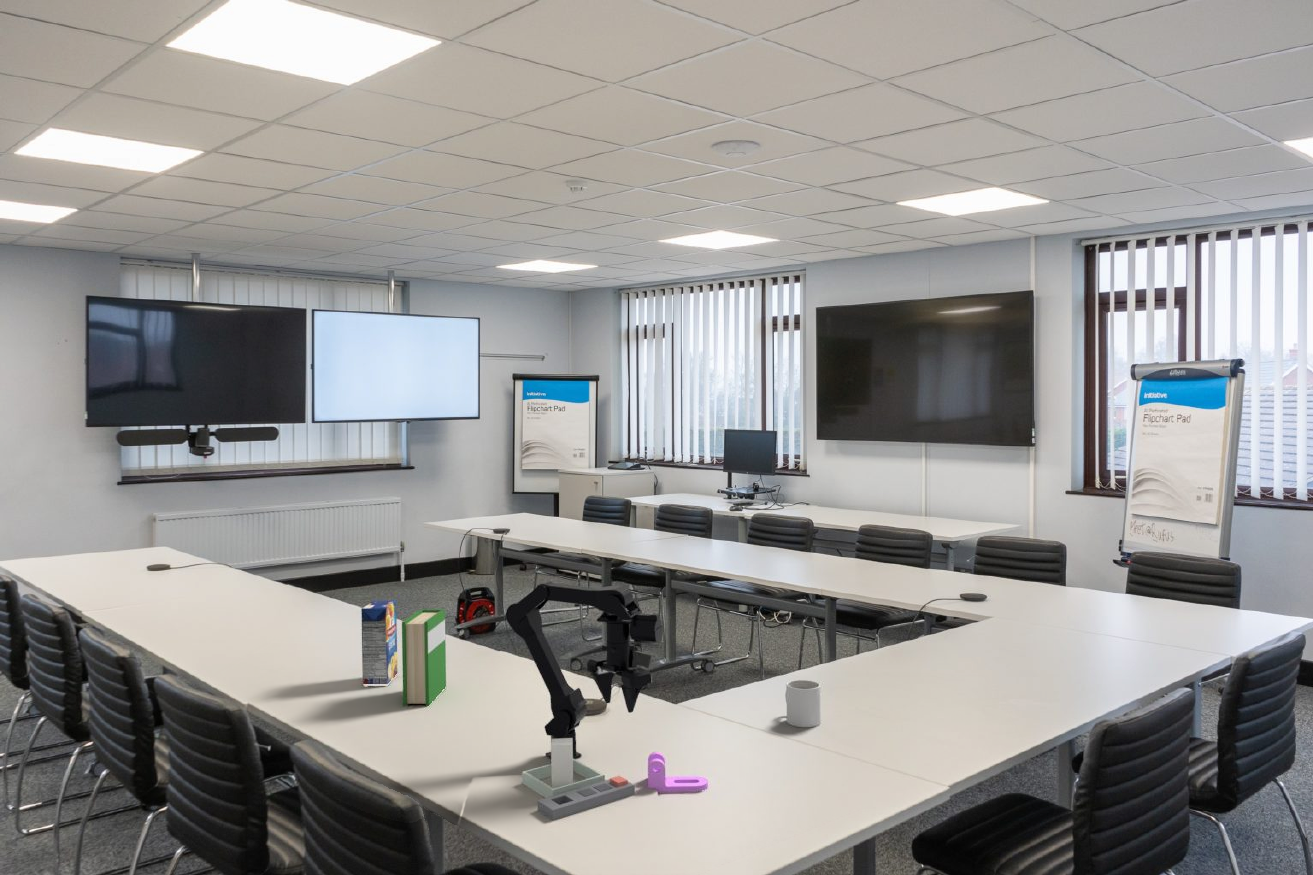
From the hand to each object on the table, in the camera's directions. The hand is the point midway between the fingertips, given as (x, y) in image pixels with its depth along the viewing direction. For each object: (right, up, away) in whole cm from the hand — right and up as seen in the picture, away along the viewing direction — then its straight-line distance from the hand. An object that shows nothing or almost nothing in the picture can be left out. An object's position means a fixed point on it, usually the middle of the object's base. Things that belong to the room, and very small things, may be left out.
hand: (619, 707), depth 215 cm
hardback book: (-59, -13, +54) cm, 81 cm away
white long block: (-11, -13, -18) cm, 25 cm away
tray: (-12, -13, -15) cm, 23 cm away
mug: (+47, -12, +29) cm, 57 cm away
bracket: (+13, -13, -14) cm, 24 cm away
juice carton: (-77, -13, +72) cm, 106 cm away
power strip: (-6, -13, -24) cm, 28 cm away
